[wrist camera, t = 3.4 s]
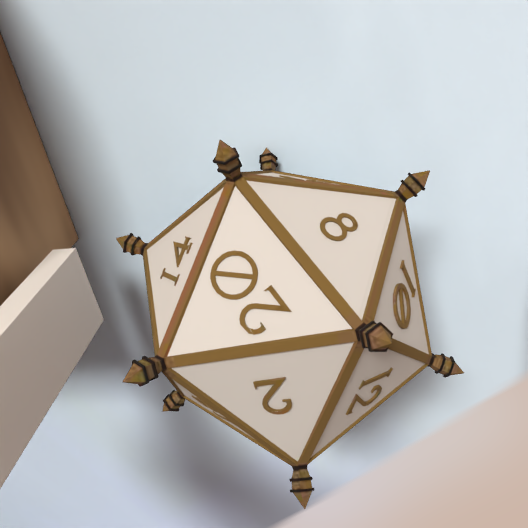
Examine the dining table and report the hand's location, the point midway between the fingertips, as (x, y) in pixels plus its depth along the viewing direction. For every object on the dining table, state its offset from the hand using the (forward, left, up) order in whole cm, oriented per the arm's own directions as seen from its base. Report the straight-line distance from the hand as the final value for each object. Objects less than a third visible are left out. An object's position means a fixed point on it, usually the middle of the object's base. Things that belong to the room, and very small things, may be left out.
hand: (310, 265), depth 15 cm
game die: (0, +1, -3) cm, 3 cm away
